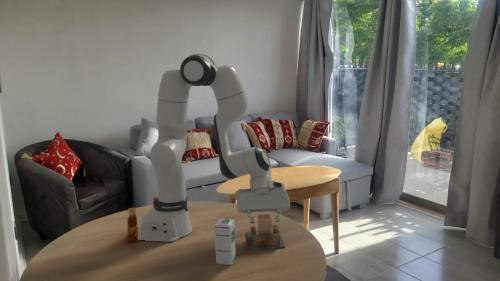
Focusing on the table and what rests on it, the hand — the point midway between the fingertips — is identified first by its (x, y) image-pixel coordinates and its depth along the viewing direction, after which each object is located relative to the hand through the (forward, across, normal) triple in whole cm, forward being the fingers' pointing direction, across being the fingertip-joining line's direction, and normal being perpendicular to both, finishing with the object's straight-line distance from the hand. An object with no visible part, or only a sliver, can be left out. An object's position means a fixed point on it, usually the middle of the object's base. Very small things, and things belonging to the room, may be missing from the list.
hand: (264, 222), depth 144 cm
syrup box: (+14, -15, -2) cm, 21 cm away
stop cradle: (+5, 0, +6) cm, 8 cm away
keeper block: (+5, 0, +6) cm, 7 cm away
